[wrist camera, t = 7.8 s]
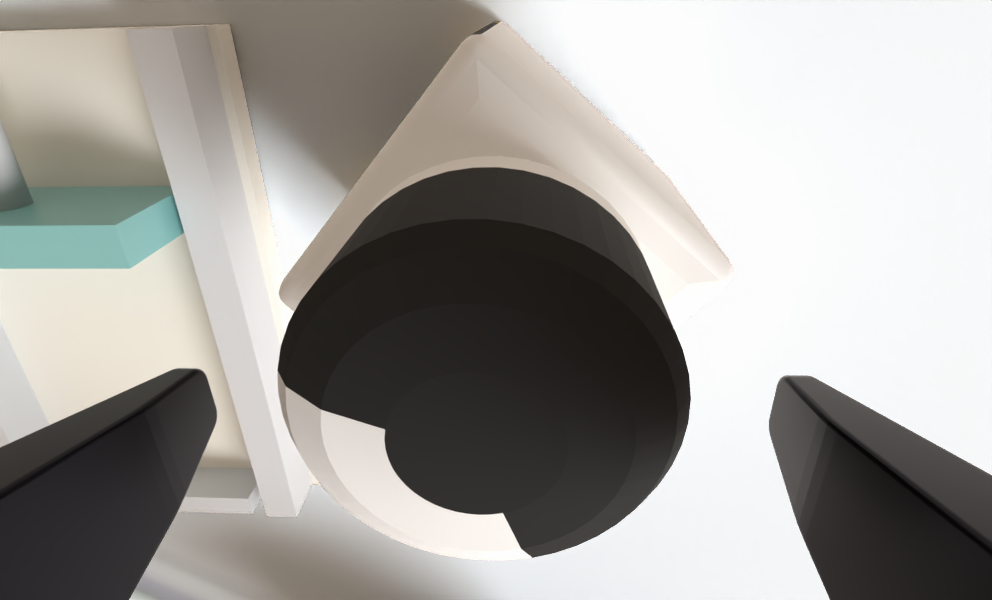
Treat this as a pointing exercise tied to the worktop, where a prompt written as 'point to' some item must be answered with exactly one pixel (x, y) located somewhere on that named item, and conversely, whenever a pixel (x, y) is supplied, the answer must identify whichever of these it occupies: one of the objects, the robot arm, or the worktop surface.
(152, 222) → the pusher
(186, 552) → the worktop surface
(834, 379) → the worktop surface
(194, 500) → the lane
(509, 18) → the worktop surface
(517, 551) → the medicine bottle
